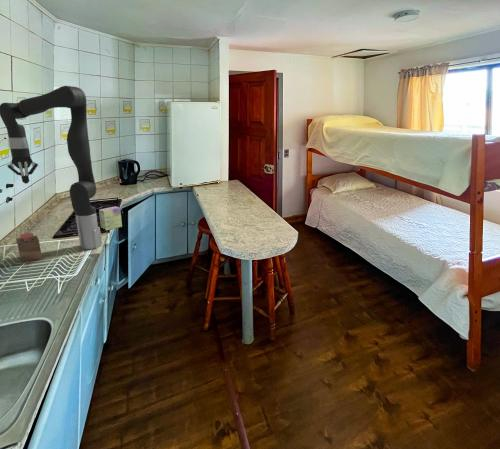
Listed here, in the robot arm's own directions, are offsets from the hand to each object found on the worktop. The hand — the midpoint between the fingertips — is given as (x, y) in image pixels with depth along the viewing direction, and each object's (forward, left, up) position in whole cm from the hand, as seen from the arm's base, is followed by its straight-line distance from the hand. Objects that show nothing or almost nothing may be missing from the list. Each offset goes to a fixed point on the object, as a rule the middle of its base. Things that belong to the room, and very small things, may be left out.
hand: (26, 183), depth 166 cm
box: (-28, -26, -31) cm, 49 cm away
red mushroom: (-10, +20, -29) cm, 37 cm away
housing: (-10, +20, -31) cm, 38 cm away
